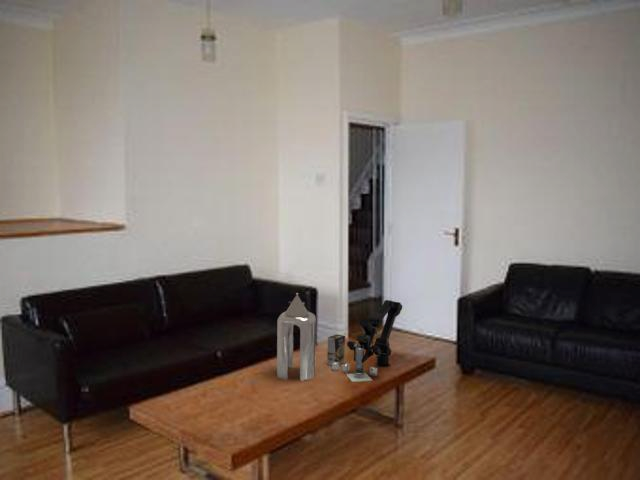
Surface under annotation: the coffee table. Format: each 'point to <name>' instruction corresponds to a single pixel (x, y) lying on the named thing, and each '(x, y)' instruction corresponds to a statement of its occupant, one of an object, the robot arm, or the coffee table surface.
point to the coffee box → (336, 349)
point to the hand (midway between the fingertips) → (358, 361)
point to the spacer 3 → (373, 371)
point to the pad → (359, 378)
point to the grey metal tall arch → (285, 340)
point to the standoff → (359, 361)
